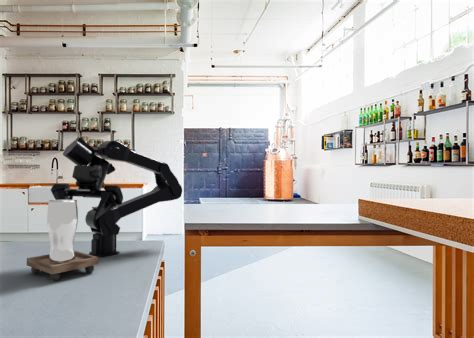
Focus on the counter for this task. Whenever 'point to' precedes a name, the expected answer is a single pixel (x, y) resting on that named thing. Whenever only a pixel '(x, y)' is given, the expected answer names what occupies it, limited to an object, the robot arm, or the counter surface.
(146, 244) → the counter surface
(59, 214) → the beer glass
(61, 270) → the walnut dolly
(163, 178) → the robot arm
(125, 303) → the counter surface
